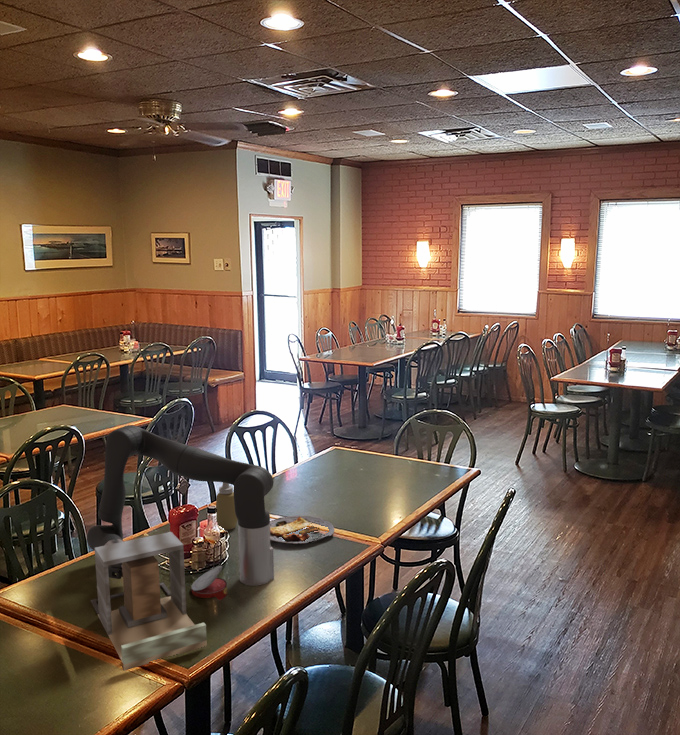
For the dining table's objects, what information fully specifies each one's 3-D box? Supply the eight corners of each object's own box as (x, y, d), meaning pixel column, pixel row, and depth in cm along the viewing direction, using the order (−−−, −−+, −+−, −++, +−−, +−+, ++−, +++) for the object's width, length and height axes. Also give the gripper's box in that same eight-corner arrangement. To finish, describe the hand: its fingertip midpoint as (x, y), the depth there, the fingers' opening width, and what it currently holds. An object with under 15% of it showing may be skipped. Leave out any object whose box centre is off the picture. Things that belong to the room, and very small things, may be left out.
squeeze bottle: (242, 523, 253) (241, 474, 250) (233, 532, 246) (231, 482, 243) (221, 521, 255) (219, 473, 252) (211, 530, 248) (209, 480, 245)
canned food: (214, 618, 198) (203, 596, 192) (188, 604, 203) (177, 583, 197) (240, 587, 205) (230, 565, 199) (215, 574, 210) (204, 552, 204)
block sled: (156, 602, 193) (153, 548, 191) (167, 617, 186) (164, 560, 183) (119, 612, 188) (115, 556, 186) (128, 627, 181) (124, 569, 178)
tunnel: (163, 589, 205) (160, 519, 202) (206, 646, 175) (203, 566, 172) (91, 607, 195) (86, 534, 192) (124, 670, 165) (118, 586, 162)
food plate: (286, 554, 227) (286, 543, 227) (247, 533, 245) (246, 523, 245) (346, 536, 243) (347, 526, 243) (305, 517, 261) (305, 508, 261)
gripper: (93, 548, 204) (107, 571, 189) (140, 538, 210) (157, 560, 195) (95, 573, 205) (109, 598, 190) (141, 562, 211) (158, 585, 197)
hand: (133, 578), depth 193 cm, fingers closed
